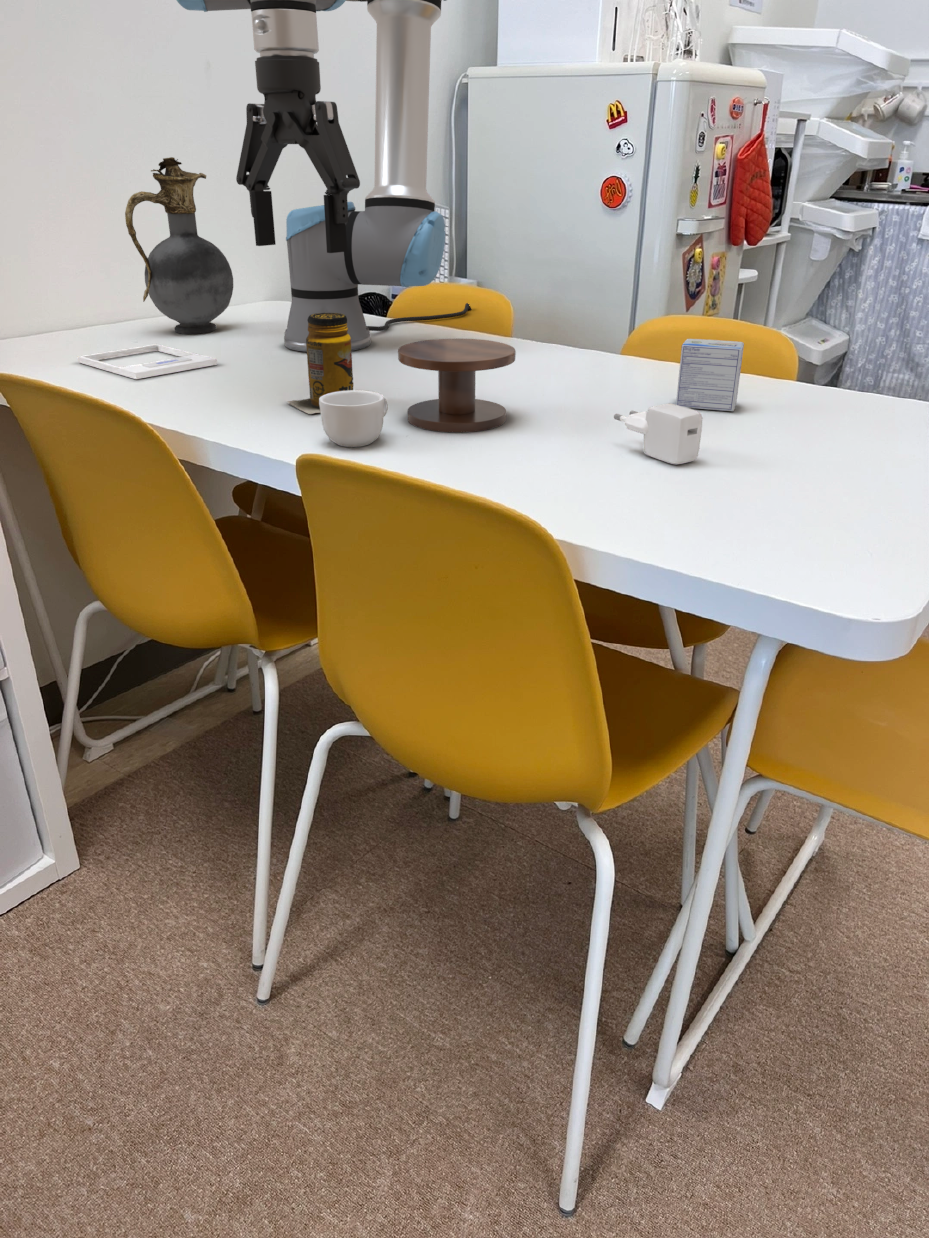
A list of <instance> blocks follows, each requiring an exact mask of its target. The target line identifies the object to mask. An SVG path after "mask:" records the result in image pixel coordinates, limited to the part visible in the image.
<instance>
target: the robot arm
mask: <svg viewBox="0 0 929 1238" xmlns="http://www.w3.org/2000/svg"><path fill="white" fill-rule="evenodd" d="M447 1H448V0H176V2H177V3H178V4H179V5H180V7H182V8H183V9H185V10H187V11H199V12H200V11H201V12H204V13H208V12H217V11H218V12H219V11H237V10H250V12H251V13H250V14H251V25H252V26H251V27H252V38H253V49H254V51H255V52H256V53H258V54H259V57H256V60H254V66H255V68H254V69H255V79H256V89H257V91H258V93H260V94H262V95H263V97H264V103H251V102H250V103H249V102H248V103H247V104H246V107H245V109H246V111H245V112H246V113H245V114H246V115H245V116H246V126H245V130H244V135H243V140H242V146H241V150H240V151H241V152H240V155H239V156H240V157H239V161H238V166H237V172H236V177H235V179H236V183H237V185H240V186H241V185H242V186H244V187H245V188H246V190H247V191H248V193H249V204H250V214H251V217H252V219H253V227H254V228H253V229H254V240H255V246H256V247H266V246H276V233H275V221H274V220H275V219H274V208H273V195H272V190H271V187H270V186H269V182H270V180H271V178H272V176H273V174H274V171H275V168H276V166H277V163H278V161H279V159H280V156H281V155H282V152H283V150H284V149H285V148H286V147H287V146H288V145H298V146H299V147H300V148H302V149H304V151H305V153H306V155H307V157H308V158H309V160H310V161H311V163H312V165H313V167H314V168H315V170H316V172H317V174H318V176H319V177H320V179H321V181H322V183H323V184H324V186H325V188H326V190H325V192H324V194H323V204H322V205H321V204H320V205H315V206H307V207H301V208H295V209H292V210H291V211H289V212H288V214H287V216H286V219H285V220H286V222H285V223H286V226H285V227H286V237H285V241H286V249H287V258H288V271H289V282H290V296H291V303H290V308H289V314H288V319H287V324H286V325H287V326H286V329H285V330H284V337H283V339H284V347H285V348H287V349H289V350H293V351H295V352H296V351H297V352H302V353H303V352H304V353H307V348H306V338H307V336H308V335H309V331H308V321H307V319H308V317H309V316H310V315H312V314H316V313H340V314H344V315H345V316H346V317H347V328H348V331H347V333H348V334H349V335H350V337H351V350H352V351H358V350H361V349H365V348H367V347H369V346H371V342H372V341H371V339H372V338H371V337H372V336H371V331H372V332H384V331H386V330H388V328H389V326H390V325H391V324H396V323H403V322H421V321H433V320H442V319H450V318H456V317H460V316H464V315H466V314H467V313H468V311H472V306H471V305H470V303H469V302H467V303H465V305H464V309H463V310H461V311H456V312H452V313H444V314H443V313H442V314H435V315H423V316H403V317H396V318H391V319H388V320H386V321H385V323H384V325H380V326H378V325H367V323H366V319H365V315H364V313H363V309H362V306H361V303H360V299H359V285H361V286H382V287H383V286H386V287H387V286H388V287H402V288H409V287H425V286H428V285H430V284H431V283H432V282H433V281H435V279H436V278H437V275H438V273H439V271H440V268H441V265H442V261H443V258H444V252H445V251H444V250H445V244H446V231H445V230H446V222H445V218H444V216H443V214H441V213H440V212H438V211H436V201H435V200H434V198H433V197H432V196H431V195H430V193H428V190H427V177H428V175H427V171H428V170H427V169H428V144H429V143H428V142H429V141H428V139H429V138H428V137H429V134H428V132H429V104H430V74H431V39H432V26H433V25H434V24H435V23H436V22H437V21H438V20H439V19H440V18H441V15H442V2H447ZM345 2H360V3H361V2H362V3H363V2H364V3H365V2H366V4H367V5H366V10H367V13H368V14H369V15H370V16H371V17H372V19H373V20H374V22H375V23H376V41H375V42H376V43H375V45H376V48H375V49H376V50H375V52H376V53H375V113H374V114H375V115H374V117H375V118H374V121H375V123H374V124H375V125H374V185H373V186H374V187H373V188H372V189H371V191H370V192H369V193H368V194H367V195H366V196H365V198H364V210H360V211H359V210H356V206H355V204H354V202H353V201H348V195H349V193H350V192H351V191H353V190H356V189H359V188H360V186H361V181H360V178H359V175H358V172H357V169H356V166H355V163H354V161H353V159H352V155H351V153H350V150H349V147H348V145H347V141H346V138H345V135H344V133H343V131H342V128H341V125H340V122H339V121H340V120H339V113H338V106H337V103H336V102H335V101H327V100H326V101H325V100H317V98H316V96H317V95H319V94H320V93H321V89H322V88H321V86H322V85H321V70H320V69H321V68H320V62H319V61H318V59H317V58H315V55H316V54H318V53H319V52H320V47H319V33H318V31H319V30H318V20H317V18H318V17H317V12H332V11H336V10H337V9H339V8H340V7H342V6H343V4H345ZM468 303H469V304H468ZM469 305H470V306H469ZM352 351H351V352H352Z"/></svg>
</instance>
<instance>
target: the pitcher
mask: <svg viewBox="0 0 929 1238" xmlns="http://www.w3.org/2000/svg"><path fill="white" fill-rule="evenodd" d="M179 165H183V163H182V162H181V161H179V159H178V158H175V157H172V156H170V157H163V158H162V161H160V162H159V163H158V166H159V168H158V169H150V172H152V177H153V179H154V180H155V181H156V182H158V184H159V187H160V190H159V191H158V192H157V193H153V192H150V191H139V192H135V193H133V194H132V195H131V196H130V197H129V199H128V201H127V203H126V207H125V212H124V219H125V225H126V226H125V227H126V228H127V232H128V235H129V236H130V238H131V240H132V242H133V245H134V246H135V248H136V250H137V251H138V253H139V255H140V257H141V258H142V259H143V262H144V265H145V267H144V284H145V290H144V292H143V296H142V297H143V298H142V299H143V303H145V302H146V299H147V298H148V296H149V298H150V300H151V302H152V303H153V305H154V306H155V308H156V309H158V311H159V312H160V313H161V314H163V315H164V316H166V317H167V318H168V319H171V320H173V321H175V322H177V323H178V324H176V325H175V326H174V328H173V329H174V332H175V333H177V334H182V335H199V334H208V333H211V332H214V331H216V330H217V325H216V324H215V323H213V321H214V320H215V319H216V318H218V317H219V316H220V315H222V314H223V313H224V312H225V311H226V309H228V307H229V306H230V303H231V299H232V297H233V293H234V292H233V291H234V275H233V271H232V267H231V265H230V262H229V261H228V258H227V257H226V255H225V253H223V252H222V251H221V249H220V248H219V247H217V246H216V244H214V243H212V242H211V241H209V240H207V239H205V238H203V237H201V236H199V234H198V227H197V219H196V212H197V207H196V204H195V199H194V188H195V186H196V183H197V181H198V180H199V179H207V174H205V173H203V172H199V173H197V172H191V171H190V172H189V171H186V170H183V169H182V168H181V167H180V166H179ZM163 170H165V171H164V173H163V172H162V171H163ZM143 202H151V203H152V204H159V205H161V206H163V207H164V213H165V214H167V222H168V230H169V236H168V237H166V238H165V239H163V240H161V241H160V242H159V243H158V244H156V245H155V246H154V248H152V250H151V251H150V253H149V254H148V256H147V255H146V252H145V251H144V249H143V247H142V246H141V244H140V242H139V240H138V238H137V232H136V228H135V226H134V221H133V220H134V219H133V218H134V211H135V208H136V206H137V205H139V204H141V203H143Z"/></svg>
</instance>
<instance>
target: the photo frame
mask: <svg viewBox="0 0 929 1238" xmlns="http://www.w3.org/2000/svg"><path fill="white" fill-rule="evenodd" d="M155 351H156V352H161V353H164V354H169V355H172V356H176V357H173V358H168V359H167V358H166V359H162V360H156V361H150V362H144V363H138V364H132V365H126V366H118V365H114V364H110V363H107V362H104V361H100V360H106V359H112V358H113V359H114V358H120V357H125V356H131V355H136V354H138V355H139V354H143V353H149V352H155ZM76 357H77V362H78V363H79V364H82V365H86V366H90V367H92V368H96V369H100V370H103V371H107V372H110V373H113V374H117V375H121V376H123V377H127V378H131V379H134V380H140V379H145V378H150V377H157V376H161V375H167V374H172V373H177V372H178V373H179V372H183V371H189V370H195V369H199V368H200V369H201V368H205V367H212V366H216V365H218V359H217V357H211V356H208V355H203V354H200V353H195V352H191V351H188V350H183V349H179V348H175V347H170V346H166V345H162V344H158V343H154V344H148V345H142V346H135V347H129V348H122V349H116V350H110V351H104V352H98V353H91V354H84V355H78V356H77V355H76Z"/></svg>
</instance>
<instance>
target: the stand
mask: <svg viewBox="0 0 929 1238" xmlns="http://www.w3.org/2000/svg"><path fill="white" fill-rule="evenodd" d="M516 351H517V350H516V348H515V347H514V346H512V345H510V344H507V343H505V342H501V341H494V340H489V339H479V338H435V339H425V340H418V341H413V342H409V343H406V344H404V345H401V346H400V347H399V348H398V349H397V360H398V362H399V363H400V364H402V365H405V366H406V367H409V368H410V367H411V368H415V369H419V370H425V371H435V372H437V373H438V377H437V381H438V383H437V385H438V391H437V392H438V398H434V399H428V400H423V401H420V402H416V403H414V404H412V405H410V406H409V407H408V408H407V412H406V413H407V421H408V423H409V424H410V425H412V426H414V427H416V428H419V429H421V430H426V431H431V432H432V431H433V432H439V433H456V434H457V433H476V432H483V431H488V430H492V429H495V428H498V427H500V426H503V425H504V424H505V423H506V421H507V408H506V407H505V406H504V405H501V404H500V403H497V402H495V401H490V400H486V399H485V400H484V399H478V398H476V372H479V371H488V370H495V369H500V368H503V367H504V368H505V367H507V366H509V365H512V364H513V363H515V361H516V355H517V354H516V353H517V352H516Z"/></svg>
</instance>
